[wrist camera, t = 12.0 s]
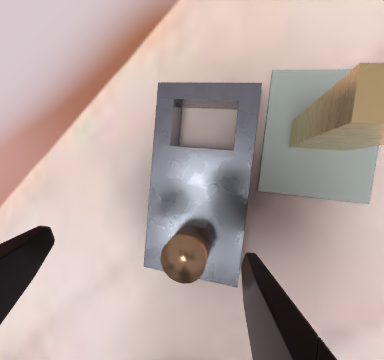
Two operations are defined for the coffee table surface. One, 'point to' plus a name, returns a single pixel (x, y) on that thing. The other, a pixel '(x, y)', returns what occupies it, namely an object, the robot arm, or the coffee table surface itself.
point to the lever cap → (345, 113)
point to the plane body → (200, 186)
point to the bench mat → (304, 157)
